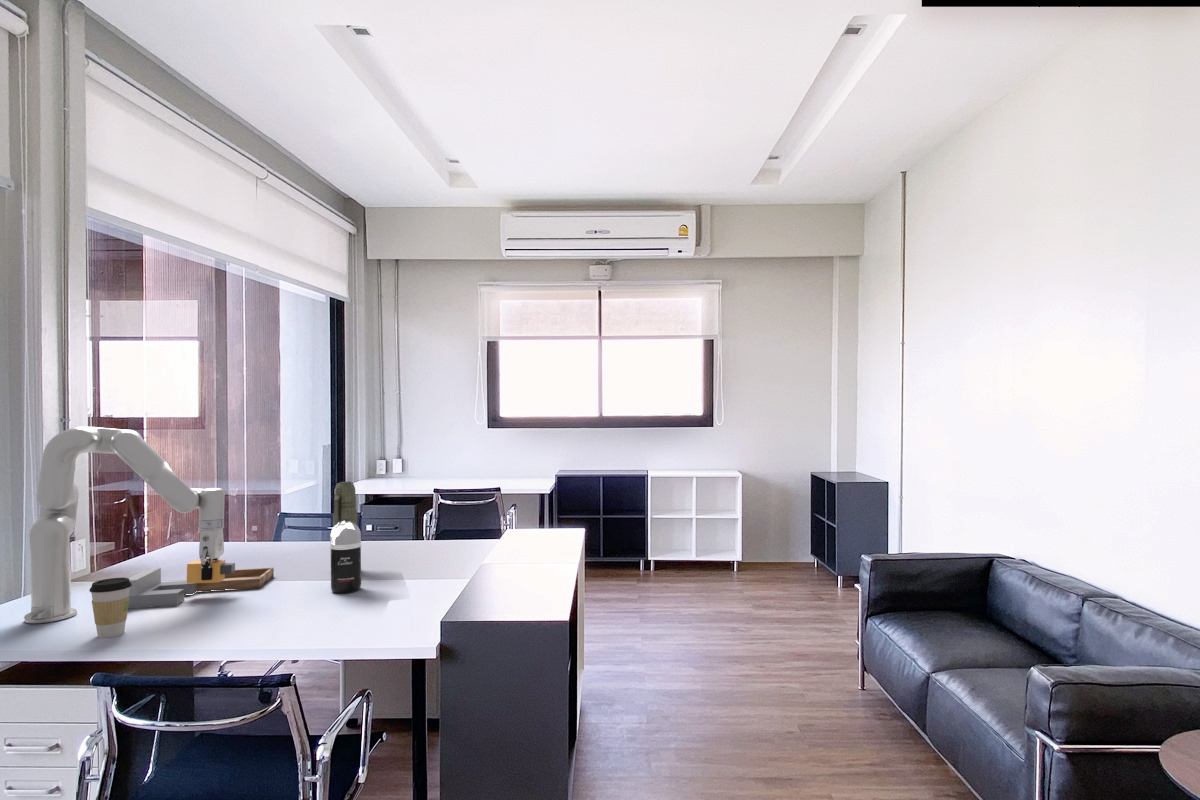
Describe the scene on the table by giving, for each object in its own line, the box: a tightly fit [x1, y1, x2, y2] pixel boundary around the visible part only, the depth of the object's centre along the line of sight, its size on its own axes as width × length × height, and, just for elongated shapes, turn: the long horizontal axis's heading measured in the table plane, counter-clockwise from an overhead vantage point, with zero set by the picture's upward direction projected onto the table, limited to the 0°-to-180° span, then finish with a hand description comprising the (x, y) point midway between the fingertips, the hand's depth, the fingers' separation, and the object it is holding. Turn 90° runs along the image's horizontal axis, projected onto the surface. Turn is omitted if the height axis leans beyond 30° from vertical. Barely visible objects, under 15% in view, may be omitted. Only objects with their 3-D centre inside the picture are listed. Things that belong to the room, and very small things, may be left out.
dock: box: [128, 567, 198, 609], centre depth 228 cm, size 18×16×9 cm
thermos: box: [332, 481, 358, 528], centre depth 264 cm, size 9×12×35 cm
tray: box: [198, 567, 275, 591], centre depth 247 cm, size 18×20×4 cm
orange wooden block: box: [186, 559, 236, 584], centre depth 231 cm, size 6×14×6 cm, turn 101°
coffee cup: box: [89, 577, 132, 639], centre depth 192 cm, size 10×10×15 cm
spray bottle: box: [329, 519, 362, 594], centre depth 236 cm, size 10×10×25 cm
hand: (210, 577), depth 231 cm, fingers closed on orange wooden block, 5 cm apart
